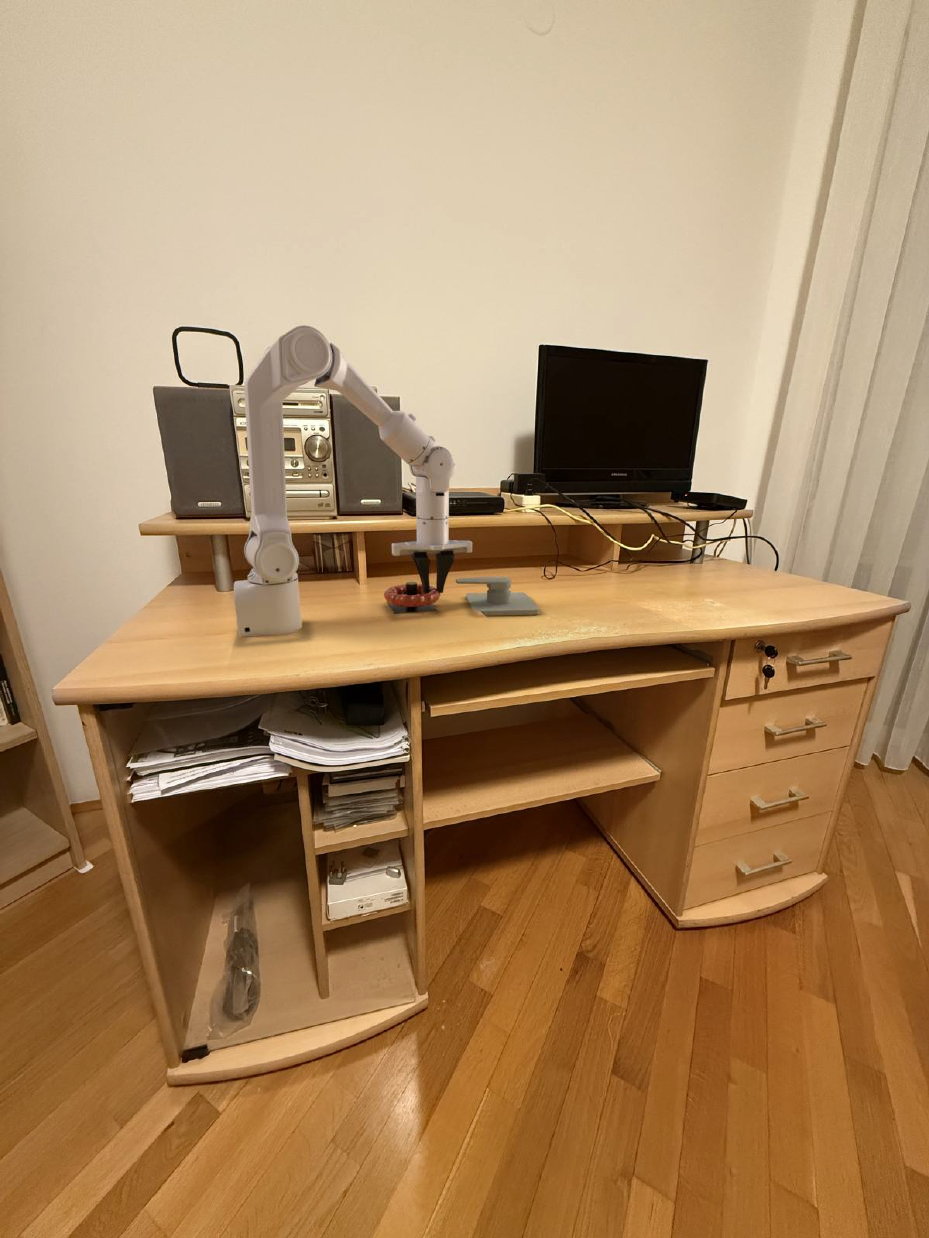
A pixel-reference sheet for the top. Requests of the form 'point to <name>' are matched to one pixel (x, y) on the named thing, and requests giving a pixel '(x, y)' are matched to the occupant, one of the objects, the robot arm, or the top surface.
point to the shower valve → (499, 598)
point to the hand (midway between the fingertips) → (432, 592)
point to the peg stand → (411, 590)
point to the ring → (411, 596)
